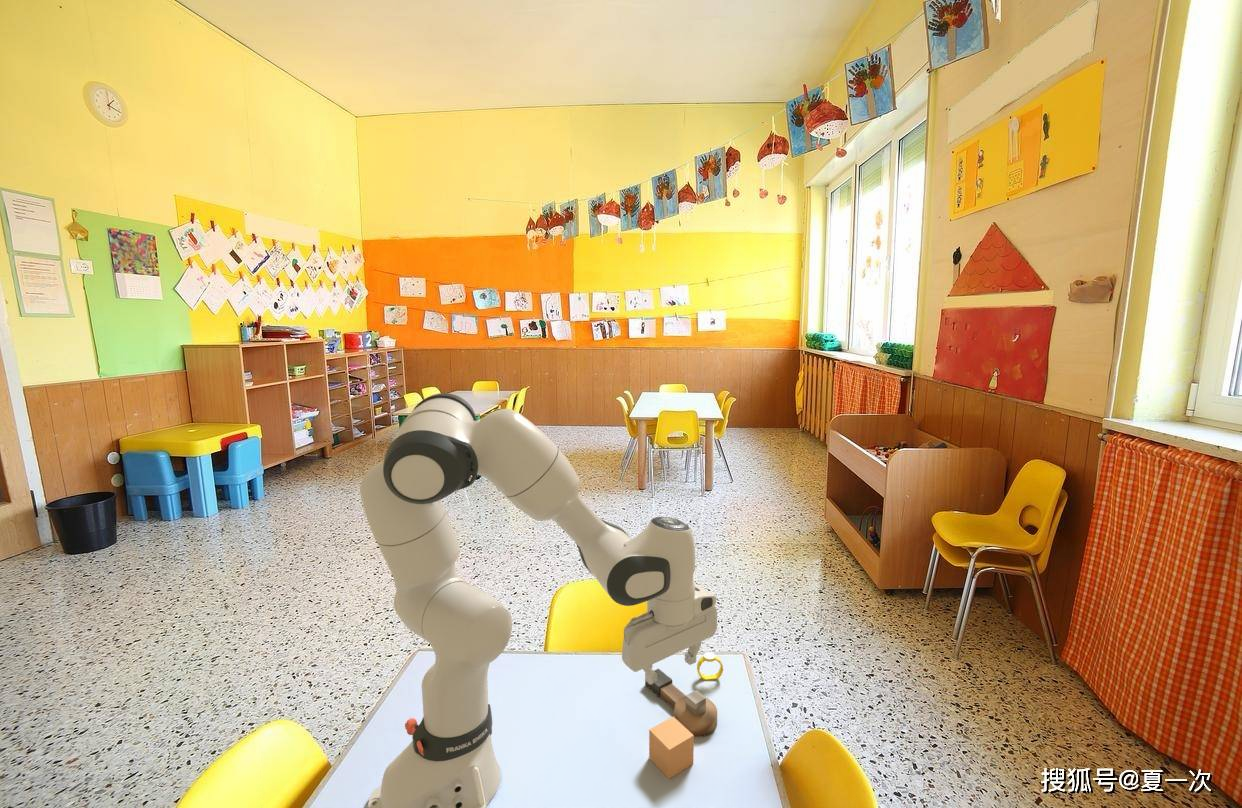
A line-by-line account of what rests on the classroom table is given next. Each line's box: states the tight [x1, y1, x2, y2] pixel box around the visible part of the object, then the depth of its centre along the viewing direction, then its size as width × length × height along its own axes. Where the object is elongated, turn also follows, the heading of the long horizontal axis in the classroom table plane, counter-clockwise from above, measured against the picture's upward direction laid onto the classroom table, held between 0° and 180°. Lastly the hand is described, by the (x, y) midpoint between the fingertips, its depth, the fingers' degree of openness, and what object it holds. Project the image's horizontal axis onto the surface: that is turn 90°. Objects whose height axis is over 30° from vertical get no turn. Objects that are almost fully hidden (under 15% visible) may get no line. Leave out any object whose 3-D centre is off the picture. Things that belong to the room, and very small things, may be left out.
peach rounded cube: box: [648, 716, 695, 780], centre depth 100 cm, size 6×6×6 cm
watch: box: [696, 651, 724, 681], centre depth 123 cm, size 6×3×6 cm, turn 92°
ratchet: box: [644, 668, 718, 738], centre depth 114 cm, size 9×20×6 cm, turn 35°
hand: (671, 671), depth 98 cm, fingers open, 8 cm apart
